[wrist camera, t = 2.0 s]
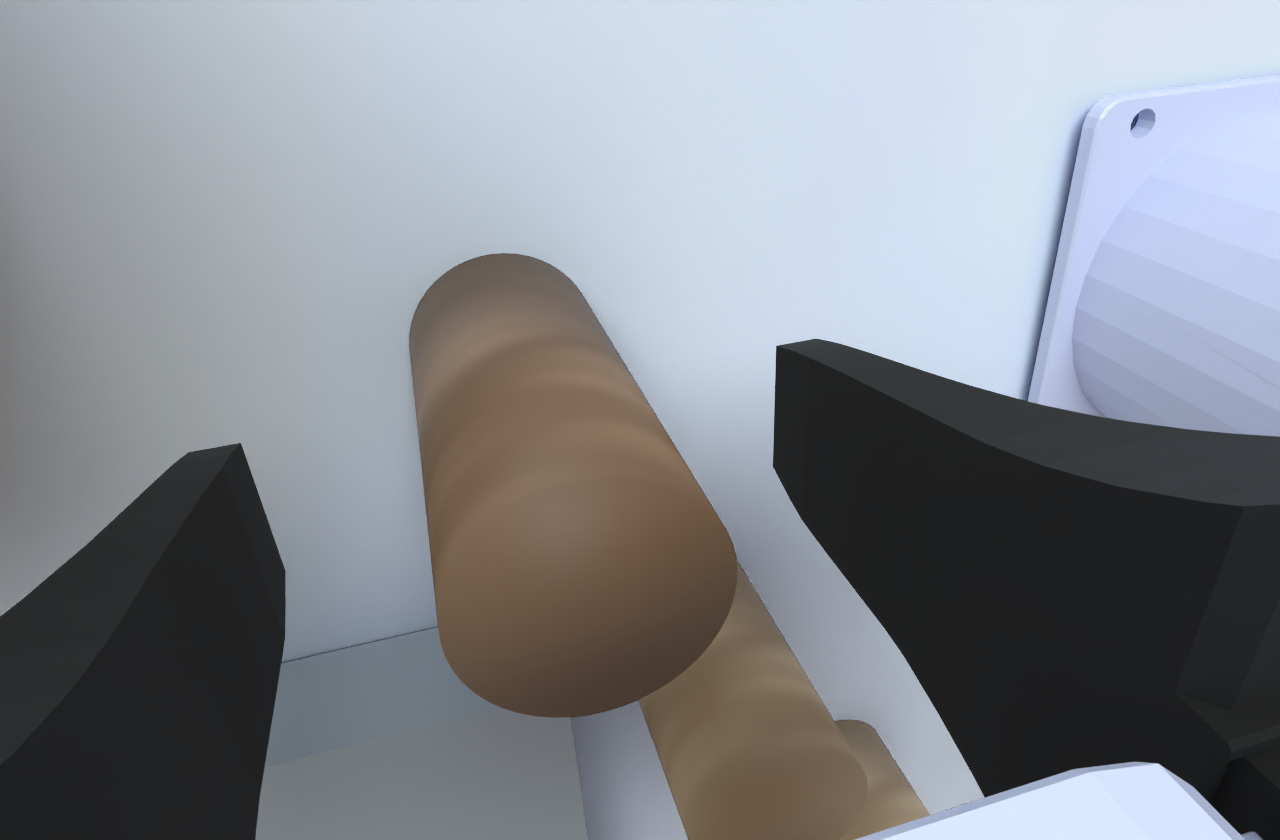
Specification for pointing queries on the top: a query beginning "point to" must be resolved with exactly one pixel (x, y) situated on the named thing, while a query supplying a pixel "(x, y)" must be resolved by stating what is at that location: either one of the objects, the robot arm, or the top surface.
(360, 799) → the hole board
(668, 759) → the mid dowel
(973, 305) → the top surface
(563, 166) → the top surface
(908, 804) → the short dowel
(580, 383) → the tall dowel
